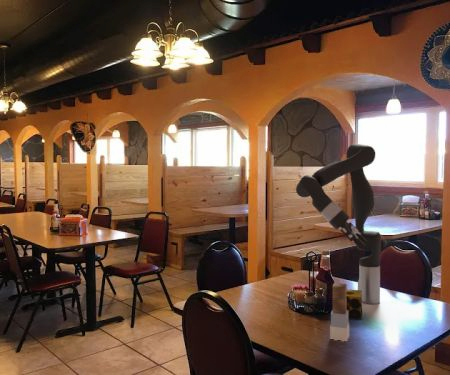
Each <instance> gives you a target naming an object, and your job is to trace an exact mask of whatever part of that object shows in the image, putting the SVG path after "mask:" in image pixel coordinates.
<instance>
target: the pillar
mask: <svg viewBox="0 0 450 375" xmlns="http://www.w3.org/2000/svg"><path fill="white" fill-rule="evenodd" d="M347 285H348V284H347V283H337V282H334V283H333V284H332V310H333V313H339V314H345V313H346V311H347V287H348V286H347Z"/></svg>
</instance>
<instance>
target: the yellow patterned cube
mask: <svg viewBox="0 0 450 375" xmlns="http://www.w3.org/2000/svg"><path fill="white" fill-rule="evenodd" d="M347 310H348V320H359V321H362V318H363V303H362V290H358V289H347Z"/></svg>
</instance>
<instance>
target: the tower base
mask: <svg viewBox="0 0 450 375" xmlns="http://www.w3.org/2000/svg"><path fill="white" fill-rule="evenodd" d="M329 331H330V332H329V339H334V340H333V341H337V340H341V341H340V342H344V341H347V342H348V340H349V338H350V322H348V326H347V328H339V327H332V326H331V325H330V326H329Z"/></svg>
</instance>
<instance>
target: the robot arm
mask: <svg viewBox="0 0 450 375" xmlns="http://www.w3.org/2000/svg"><path fill="white" fill-rule="evenodd" d="M375 159H376V150H375V149H374V148H373V147H372V146H370V145H368V144H362V143H352V144H350V145H349V146H348V148H347V149H346V159H343V160H338V161H335V162H332V163H330V164H327V165H325V166H323V167H321V168H320V169H318V170H316V171H315V172H314V173H313V174H312V175H309V174H307V175H304V176H302V177H301V178H300V180H299V181H298V183H297V185H296V187H295V191H296V194H297V195H298V196H299V197H301V198H308V197H311V200H312V202H311V204H312V206H313V207H314V208H315V209H316V210H317V211H318V213H320V215H322V217H323V218H324V219H325V221H327V222H328V223H329V225H331V226H332V227H333V229H334V230H336V231H337V230H339V229H340V232H341V233H342V234H343V235H344V236H345V237H346V238H347V239H348V240H349V242H351V243H354V244H355V245H356V248H357V250H360V251H366V252H371V254H370V255H368V256H364V257H360V258H359V261H358V263H359V268H358V270H359V274H358V275H359V279H358V280H357V290H362V304H367V305H378V304H379V303H380V302H381V250H382V249H381V248H382V236H381V233H380V232H379V231H371V230H370V231H369V230H365V223H366V222H367V219H368V217H370V214H372V212H373V209H374V207H375V196H374V191H373V190H374V189H373V187H372V186H371V183H370V182H369V181H368V180H369V179H368V178H367V176H366V175H365V172H364V168H365V167H368V166H370V165H371V164H373V162H374V161H375ZM347 174H349V176H350V183H351V192H352V195H351V196H352V204H353V211H354V212H353V213H354V222H355V224H353V223H352V222H348V221H349V220H350V215H348V214H347V213H346V212H345V211H344V209H342V207H340V205H338V203H336V202H334V200H333V199H331V198H330V197H329V196H328V195H327V194H326V192H325V189H324V188H323V187H325V186H327V185H328V184H330V183H332V182H333V181H335V180H337V179H339V178H341V177H343V176H345V175H347Z"/></svg>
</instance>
